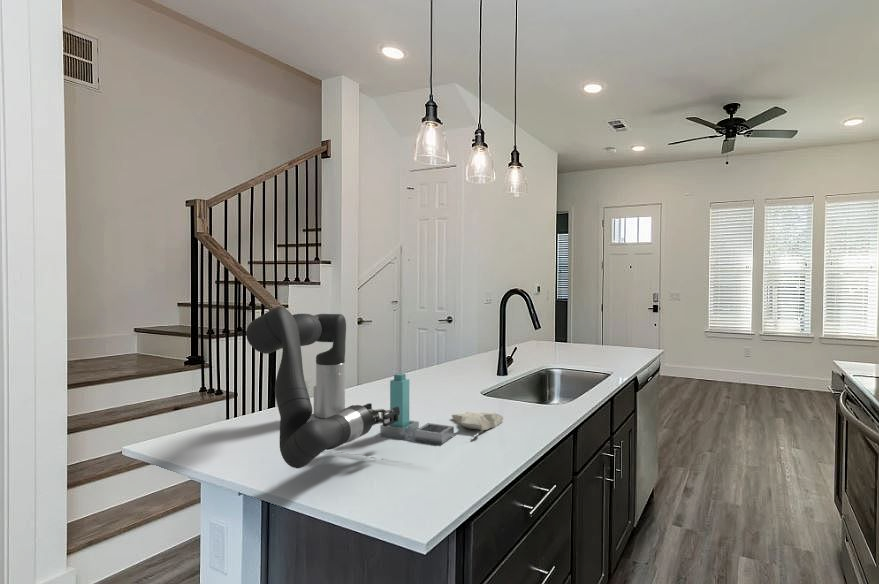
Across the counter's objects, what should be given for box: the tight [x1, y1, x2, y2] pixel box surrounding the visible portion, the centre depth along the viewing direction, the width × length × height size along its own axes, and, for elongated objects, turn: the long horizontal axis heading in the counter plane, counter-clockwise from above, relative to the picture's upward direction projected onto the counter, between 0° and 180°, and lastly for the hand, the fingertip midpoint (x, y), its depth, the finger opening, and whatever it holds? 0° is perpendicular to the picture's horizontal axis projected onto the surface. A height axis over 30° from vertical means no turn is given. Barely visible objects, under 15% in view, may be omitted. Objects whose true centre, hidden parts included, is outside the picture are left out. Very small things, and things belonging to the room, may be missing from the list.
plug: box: [389, 373, 410, 428], centre depth 148 cm, size 4×4×17 cm
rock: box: [451, 411, 504, 431], centre depth 159 cm, size 21×5×15 cm
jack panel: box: [375, 419, 459, 447], centre depth 146 cm, size 20×12×4 cm, turn 65°
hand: (384, 408), depth 141 cm, fingers open, 8 cm apart
